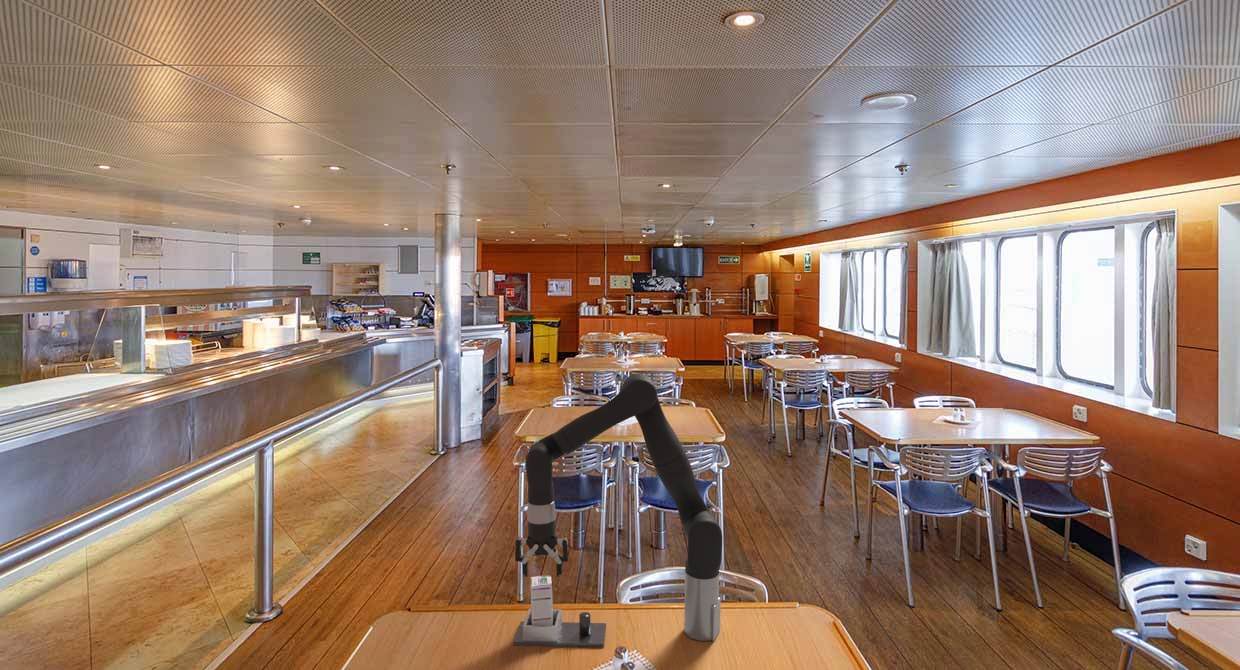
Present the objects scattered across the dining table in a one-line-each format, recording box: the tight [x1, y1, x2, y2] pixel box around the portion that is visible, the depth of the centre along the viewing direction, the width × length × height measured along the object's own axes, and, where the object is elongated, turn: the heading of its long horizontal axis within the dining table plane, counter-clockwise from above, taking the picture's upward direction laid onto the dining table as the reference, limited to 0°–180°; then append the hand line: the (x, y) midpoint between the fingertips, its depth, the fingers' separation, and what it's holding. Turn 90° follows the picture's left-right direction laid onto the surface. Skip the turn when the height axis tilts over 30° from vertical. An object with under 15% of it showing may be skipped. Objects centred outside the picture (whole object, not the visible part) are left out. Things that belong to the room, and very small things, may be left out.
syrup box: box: [530, 575, 554, 626], centre depth 170 cm, size 6×6×14 cm
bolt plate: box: [513, 608, 607, 648], centre depth 171 cm, size 24×10×6 cm, turn 88°
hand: (542, 575), depth 170 cm, fingers open, 8 cm apart
